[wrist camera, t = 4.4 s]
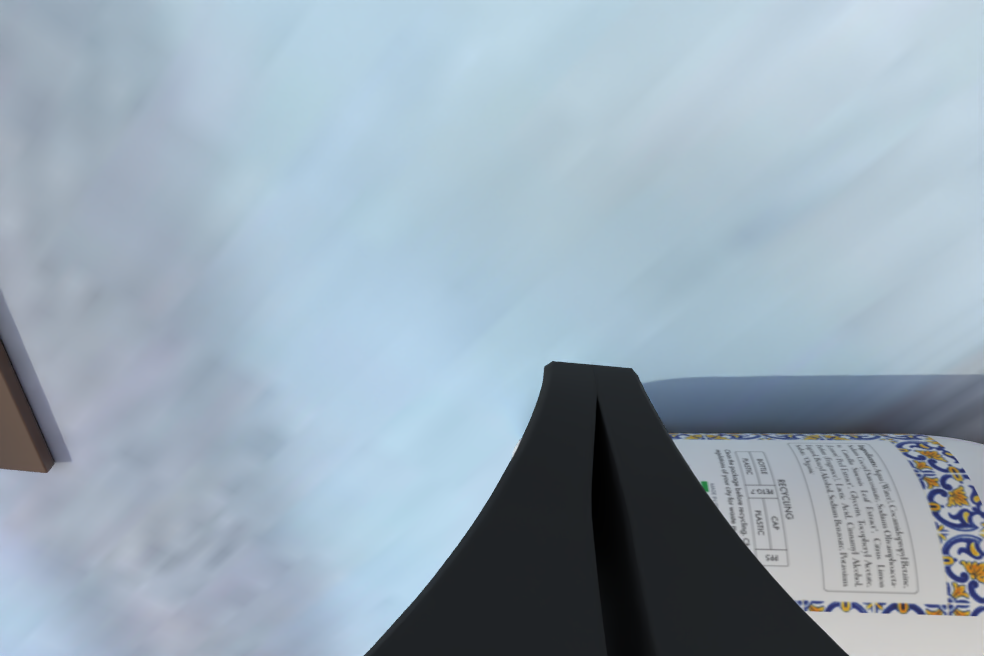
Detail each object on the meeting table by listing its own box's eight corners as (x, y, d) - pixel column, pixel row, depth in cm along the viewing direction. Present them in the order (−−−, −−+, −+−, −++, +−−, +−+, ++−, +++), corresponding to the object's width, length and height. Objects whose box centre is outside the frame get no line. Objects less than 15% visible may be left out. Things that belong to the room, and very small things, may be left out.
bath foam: (524, 573, 25) (1135, 589, 23) (509, 742, 19) (1361, 787, 16) (517, 396, 23) (1190, 394, 21) (497, 516, 16) (1477, 532, 14)
